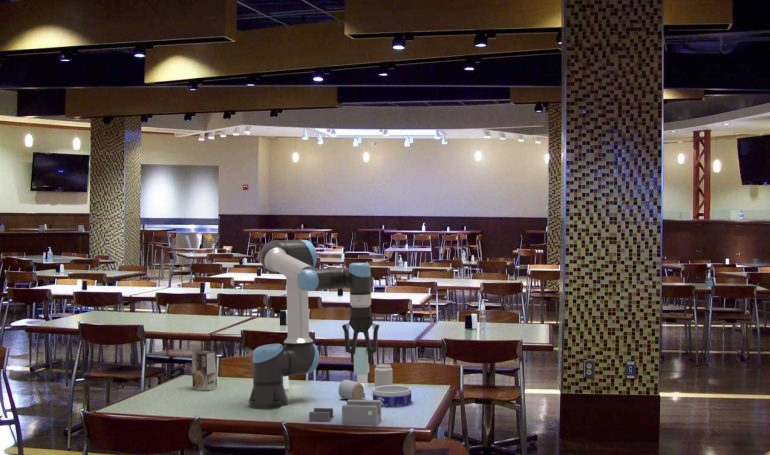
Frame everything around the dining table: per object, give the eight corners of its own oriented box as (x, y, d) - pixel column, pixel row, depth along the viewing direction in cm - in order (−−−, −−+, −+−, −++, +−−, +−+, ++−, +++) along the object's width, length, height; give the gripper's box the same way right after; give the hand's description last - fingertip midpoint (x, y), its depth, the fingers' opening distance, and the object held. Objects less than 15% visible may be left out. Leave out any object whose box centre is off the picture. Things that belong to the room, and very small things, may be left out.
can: (372, 394, 350) (371, 365, 350) (378, 391, 357) (378, 363, 357) (388, 396, 347) (388, 366, 347) (395, 392, 354) (395, 364, 354)
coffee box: (217, 389, 367) (217, 351, 367) (207, 391, 362) (206, 353, 362) (202, 387, 372) (202, 350, 372) (191, 389, 366) (191, 352, 366)
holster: (307, 424, 300) (307, 412, 300) (313, 418, 309) (313, 407, 309) (329, 424, 299) (329, 413, 299) (334, 418, 308) (334, 407, 308)
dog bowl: (366, 406, 329) (366, 390, 329) (381, 398, 343) (380, 383, 343) (403, 408, 324) (403, 393, 324) (416, 400, 338) (416, 385, 338)
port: (341, 426, 295) (341, 406, 295) (348, 418, 308) (348, 399, 307) (375, 427, 293) (375, 407, 293) (381, 419, 306) (381, 400, 306)
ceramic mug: (353, 402, 336) (353, 382, 336) (338, 399, 341) (338, 380, 341) (370, 398, 344) (370, 379, 344) (354, 395, 349) (355, 377, 349)
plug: (355, 383, 299) (355, 349, 299) (357, 381, 302) (357, 347, 302) (366, 383, 298) (365, 349, 298) (367, 381, 302) (367, 347, 302)
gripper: (335, 307, 298) (336, 373, 298) (382, 307, 296) (383, 374, 295) (339, 305, 305) (340, 370, 305) (385, 305, 303) (386, 370, 303)
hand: (361, 372), depth 300 cm, fingers closed on plug, 4 cm apart
